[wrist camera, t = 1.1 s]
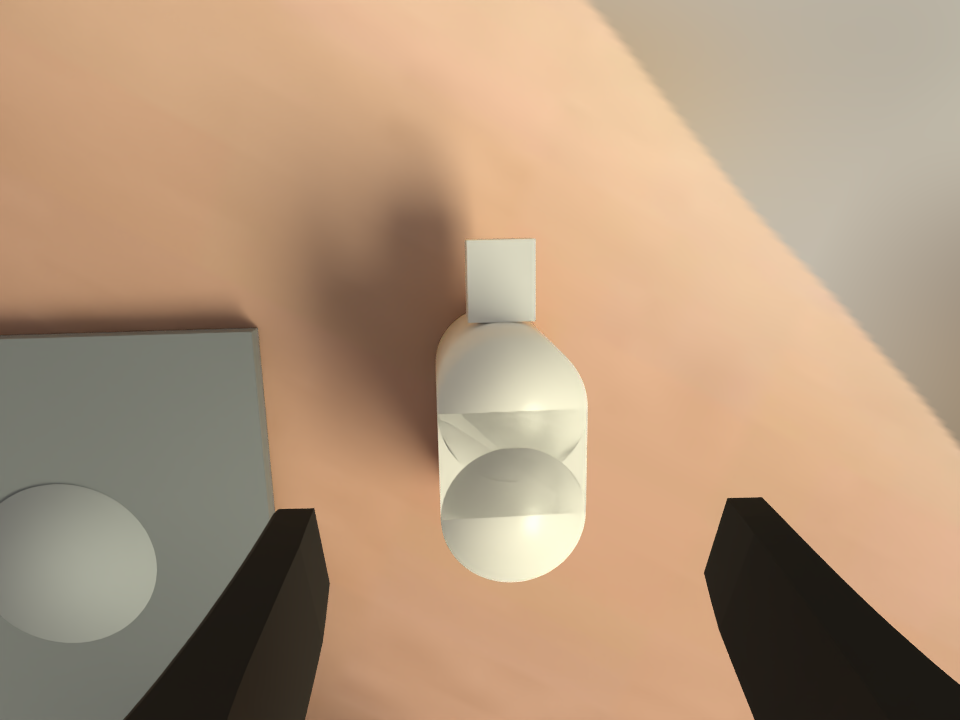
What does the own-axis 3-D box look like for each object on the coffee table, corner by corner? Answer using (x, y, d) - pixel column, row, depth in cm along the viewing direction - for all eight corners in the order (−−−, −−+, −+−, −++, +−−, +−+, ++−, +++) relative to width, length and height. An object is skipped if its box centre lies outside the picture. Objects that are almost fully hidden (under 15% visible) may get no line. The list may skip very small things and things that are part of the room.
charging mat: (295, 728, 25) (289, 746, 24) (-81, 756, 24) (-101, 776, 23) (257, 327, 22) (250, 332, 21) (-182, 340, 21) (-209, 346, 20)
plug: (546, 491, 24) (584, 578, 18) (439, 496, 24) (443, 586, 18) (548, 235, 22) (590, 241, 16) (431, 237, 22) (431, 244, 16)
